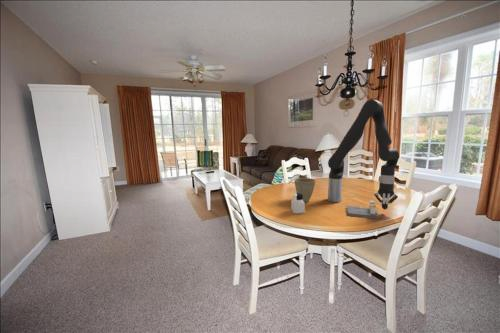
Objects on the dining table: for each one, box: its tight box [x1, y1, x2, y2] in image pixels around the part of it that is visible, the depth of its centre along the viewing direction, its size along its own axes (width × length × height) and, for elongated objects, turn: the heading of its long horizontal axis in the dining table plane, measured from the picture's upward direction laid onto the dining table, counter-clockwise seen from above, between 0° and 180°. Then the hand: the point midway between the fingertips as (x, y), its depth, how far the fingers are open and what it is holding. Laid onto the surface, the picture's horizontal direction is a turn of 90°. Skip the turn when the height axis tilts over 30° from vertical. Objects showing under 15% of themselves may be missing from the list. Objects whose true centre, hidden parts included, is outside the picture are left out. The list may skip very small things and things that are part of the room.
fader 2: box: [369, 203, 377, 214], centre depth 129 cm, size 2×3×5 cm
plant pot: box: [294, 177, 316, 203], centre depth 160 cm, size 15×15×16 cm
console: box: [346, 205, 380, 220], centre depth 135 cm, size 16×13×2 cm
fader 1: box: [368, 200, 376, 209], centre depth 135 cm, size 2×3×5 cm
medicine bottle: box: [290, 192, 306, 214], centre depth 139 cm, size 7×7×12 cm
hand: (384, 209), depth 133 cm, fingers closed
